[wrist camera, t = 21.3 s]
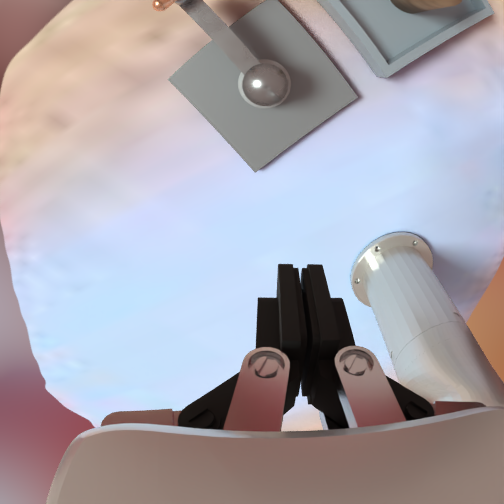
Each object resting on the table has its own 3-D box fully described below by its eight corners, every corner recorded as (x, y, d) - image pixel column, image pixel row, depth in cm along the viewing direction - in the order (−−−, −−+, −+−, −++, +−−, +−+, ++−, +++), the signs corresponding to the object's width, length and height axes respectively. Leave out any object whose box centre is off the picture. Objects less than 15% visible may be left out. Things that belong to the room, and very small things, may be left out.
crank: (298, 85, 27) (306, 88, 23) (256, 114, 29) (256, 123, 24) (202, -22, 21) (193, -37, 17) (161, 10, 23) (144, 1, 18)
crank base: (355, 96, 30) (363, 99, 28) (255, 170, 35) (255, 178, 33) (272, -3, 25) (274, -10, 22) (170, 79, 30) (162, 80, 27)
